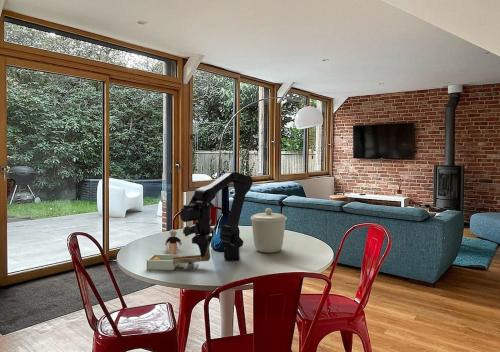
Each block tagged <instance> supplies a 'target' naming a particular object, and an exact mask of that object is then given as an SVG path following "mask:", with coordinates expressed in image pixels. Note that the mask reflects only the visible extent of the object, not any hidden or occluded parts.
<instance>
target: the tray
mask: <svg viewBox="0 0 500 352" xmlns="http://www.w3.org/2000/svg"><path fill="white" fill-rule="evenodd" d="M156 257H158V258H160V260H153V259H154V258H156ZM173 257H180V256H179V254H176V255H169V254H163V253H162V254H160V253H159V254H158V253H157V254H156V253H154V254H153V255H150V257H148V259H146V270H147V271H174V270H175V269H176V268H177V266H178V265H179V264H173V261H172V260H173Z"/></svg>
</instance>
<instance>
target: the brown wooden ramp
mask: <svg viewBox="0 0 500 352" xmlns="http://www.w3.org/2000/svg"><path fill="white" fill-rule="evenodd" d="M210 259H211V251H210V246H209V245H208V248H207V250H206V253H205V256H204V257H201V253H200V254H196V255H195V254H191V255H183V256H179V257H173V260H172V261H173V264H178V265H179V264H188V263H189V264H190V263H191V262H194V263H200V262H208V261H210Z"/></svg>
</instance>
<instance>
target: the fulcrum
mask: <svg viewBox="0 0 500 352" xmlns="http://www.w3.org/2000/svg"><path fill="white" fill-rule="evenodd" d="M198 266H199V264H197V263H196V264H195V262H191V263H190V264H189V263H186V264H185V266H184V267H183V268H182V269H183V271H184V270H185V271H195V270H197V268H198Z"/></svg>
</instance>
